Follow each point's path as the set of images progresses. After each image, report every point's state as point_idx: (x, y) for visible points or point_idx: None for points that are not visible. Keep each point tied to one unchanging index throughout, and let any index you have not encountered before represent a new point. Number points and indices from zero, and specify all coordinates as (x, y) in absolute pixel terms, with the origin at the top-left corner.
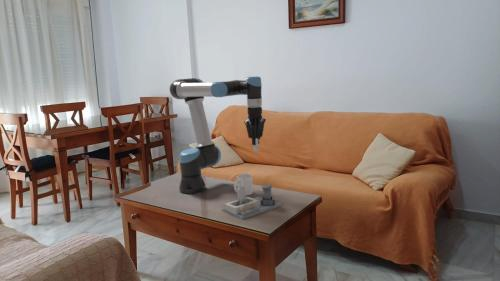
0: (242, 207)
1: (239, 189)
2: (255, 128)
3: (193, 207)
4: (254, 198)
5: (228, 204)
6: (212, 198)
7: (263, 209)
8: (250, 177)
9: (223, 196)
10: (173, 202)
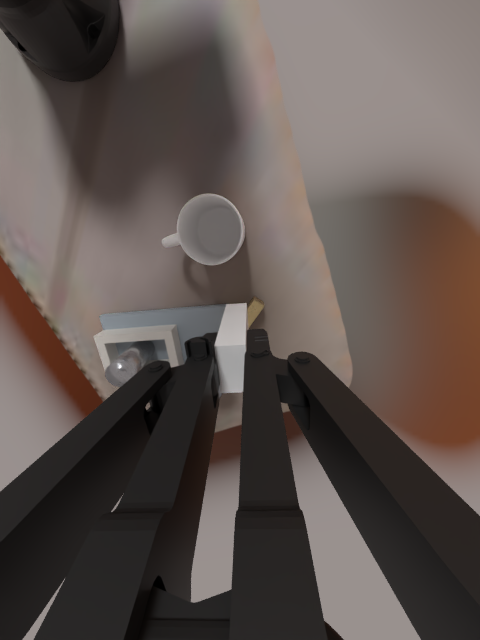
0: None
1: (110, 380)
2: (193, 525)
3: (34, 237)
4: (206, 310)
5: (100, 347)
6: (107, 198)
7: None
8: (222, 262)
9: (146, 206)
10: None
